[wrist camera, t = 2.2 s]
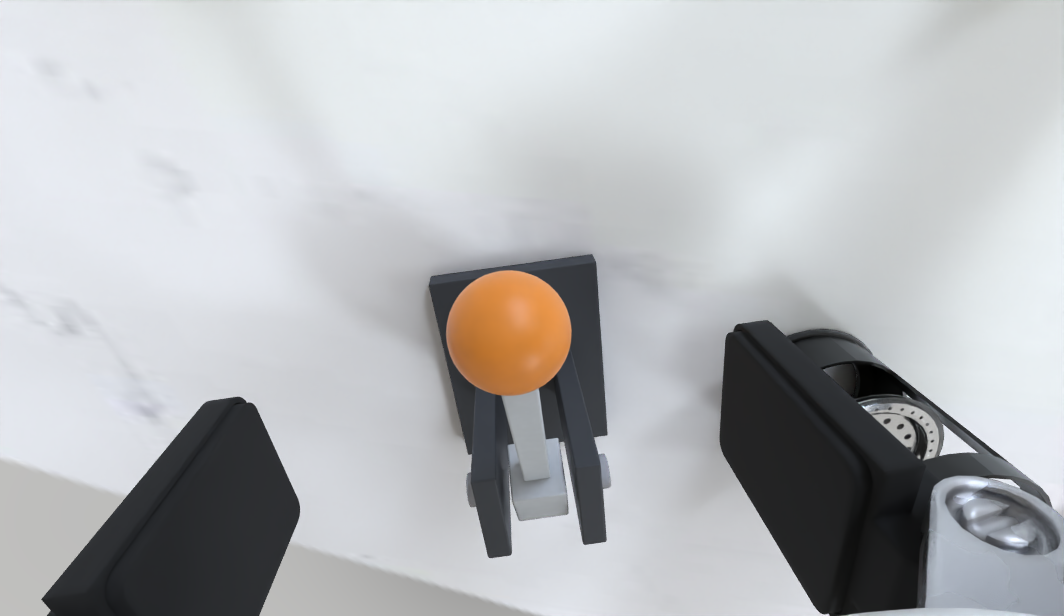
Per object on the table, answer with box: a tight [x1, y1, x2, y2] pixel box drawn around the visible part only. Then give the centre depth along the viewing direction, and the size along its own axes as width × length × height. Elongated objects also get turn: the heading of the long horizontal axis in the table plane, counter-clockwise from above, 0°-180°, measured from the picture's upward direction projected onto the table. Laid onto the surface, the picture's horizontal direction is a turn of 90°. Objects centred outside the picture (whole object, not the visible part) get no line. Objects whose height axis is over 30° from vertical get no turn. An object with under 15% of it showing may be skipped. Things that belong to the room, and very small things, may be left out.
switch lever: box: [446, 270, 572, 521], centre depth 17 cm, size 14×3×3 cm, turn 7°
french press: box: [787, 329, 1052, 508], centre depth 23 cm, size 12×9×23 cm
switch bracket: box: [429, 254, 611, 558], centre depth 25 cm, size 12×9×12 cm
